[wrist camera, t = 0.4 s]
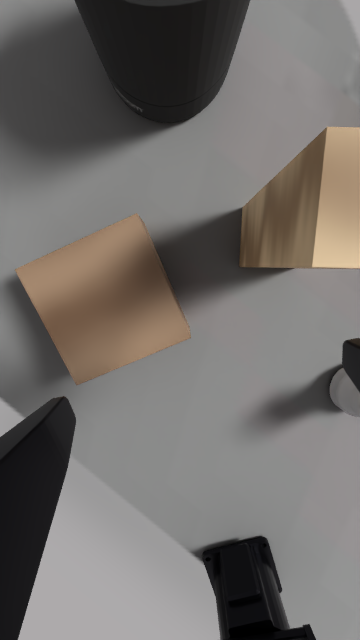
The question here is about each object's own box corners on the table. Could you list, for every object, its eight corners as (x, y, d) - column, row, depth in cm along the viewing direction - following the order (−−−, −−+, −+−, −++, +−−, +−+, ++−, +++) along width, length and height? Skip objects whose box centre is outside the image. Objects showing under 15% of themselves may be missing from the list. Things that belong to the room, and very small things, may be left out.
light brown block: (189, 325, 23) (190, 337, 20) (93, 366, 24) (76, 385, 20) (144, 222, 22) (136, 213, 18) (43, 269, 23) (14, 269, 19)
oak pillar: (295, 268, 22) (437, 269, 10) (239, 266, 22) (312, 267, 10) (301, 208, 21) (463, 130, 9) (242, 207, 21) (327, 126, 9)
